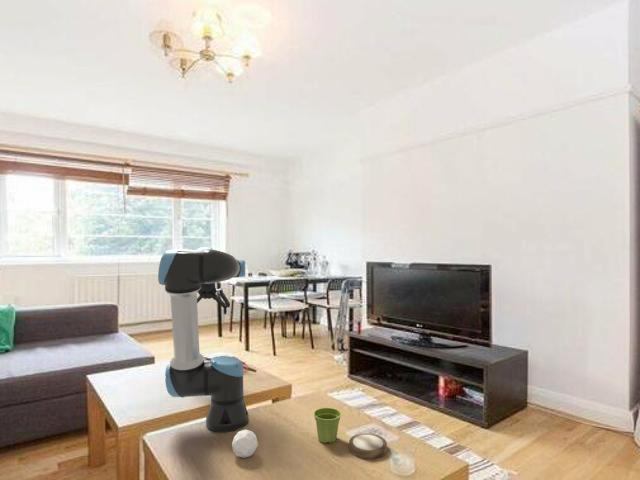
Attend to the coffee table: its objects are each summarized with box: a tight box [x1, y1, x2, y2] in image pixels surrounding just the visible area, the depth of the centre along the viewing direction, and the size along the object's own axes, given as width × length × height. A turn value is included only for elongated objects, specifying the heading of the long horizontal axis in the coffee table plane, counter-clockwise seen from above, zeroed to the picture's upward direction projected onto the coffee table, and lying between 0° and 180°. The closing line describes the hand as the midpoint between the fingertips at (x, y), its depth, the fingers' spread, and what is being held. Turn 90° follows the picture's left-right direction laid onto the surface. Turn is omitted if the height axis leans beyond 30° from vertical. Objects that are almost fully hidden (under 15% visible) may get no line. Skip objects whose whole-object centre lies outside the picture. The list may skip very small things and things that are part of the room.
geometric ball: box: [231, 429, 259, 459], centre depth 126 cm, size 8×8×8 cm
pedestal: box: [348, 432, 388, 460], centre depth 130 cm, size 12×12×2 cm
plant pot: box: [313, 407, 342, 444], centre depth 137 cm, size 9×9×9 cm
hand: (209, 320), depth 195 cm, fingers open, 13 cm apart
